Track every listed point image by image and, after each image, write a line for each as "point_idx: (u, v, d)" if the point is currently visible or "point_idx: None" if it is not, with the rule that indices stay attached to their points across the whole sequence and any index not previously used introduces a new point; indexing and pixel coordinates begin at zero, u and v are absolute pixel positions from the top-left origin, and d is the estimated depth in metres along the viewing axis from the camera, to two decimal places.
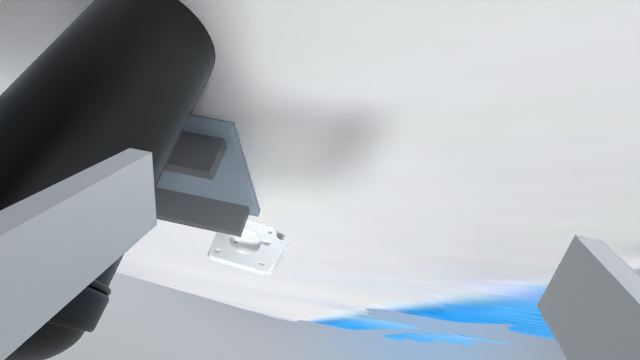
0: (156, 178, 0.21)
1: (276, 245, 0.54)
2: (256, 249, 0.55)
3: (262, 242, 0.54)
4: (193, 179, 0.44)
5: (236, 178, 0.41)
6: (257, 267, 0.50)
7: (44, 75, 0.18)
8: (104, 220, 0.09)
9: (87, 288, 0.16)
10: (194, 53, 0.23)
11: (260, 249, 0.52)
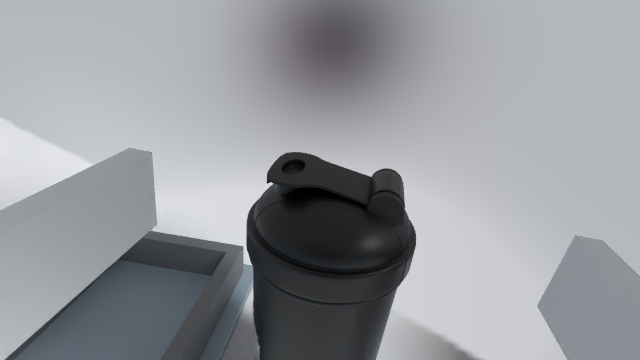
0: None
1: None
2: None
3: None
4: (101, 328, 0.34)
5: None
6: None
7: None
8: (104, 220, 0.09)
9: (330, 302, 0.17)
10: None
11: None
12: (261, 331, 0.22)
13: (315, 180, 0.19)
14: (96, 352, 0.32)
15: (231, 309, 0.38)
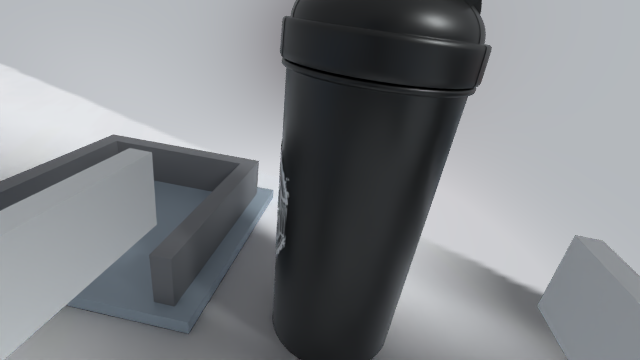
0: (326, 218, 0.17)
1: None
2: None
3: None
4: None
5: None
6: None
7: None
8: (104, 220, 0.09)
9: (393, 81, 0.14)
10: (348, 343, 0.21)
11: None
12: (292, 166, 0.18)
13: None
14: None
15: (244, 221, 0.34)
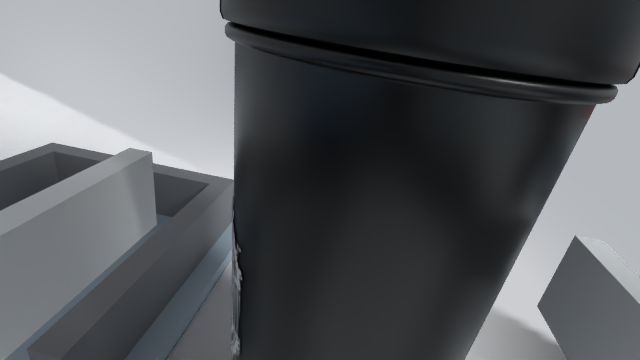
0: (305, 334, 0.09)
1: None
2: None
3: None
4: None
5: None
6: None
7: None
8: (104, 220, 0.09)
9: (470, 61, 0.05)
10: None
11: None
12: (244, 229, 0.09)
13: None
14: None
15: (210, 262, 0.26)
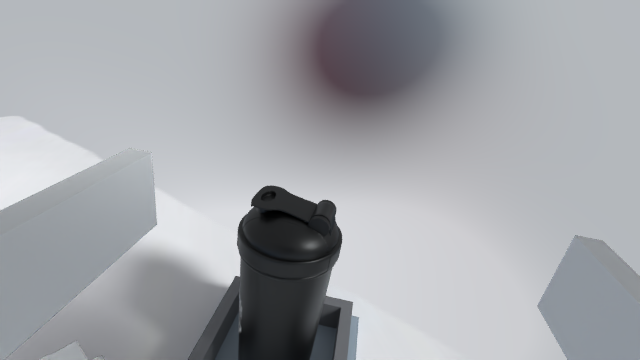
0: (259, 325, 0.34)
1: None
2: None
3: None
4: None
5: None
6: None
7: None
8: (104, 220, 0.09)
9: (282, 277, 0.30)
10: None
11: None
12: (243, 297, 0.34)
13: (279, 206, 0.32)
14: None
15: (349, 359, 0.45)
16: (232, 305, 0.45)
